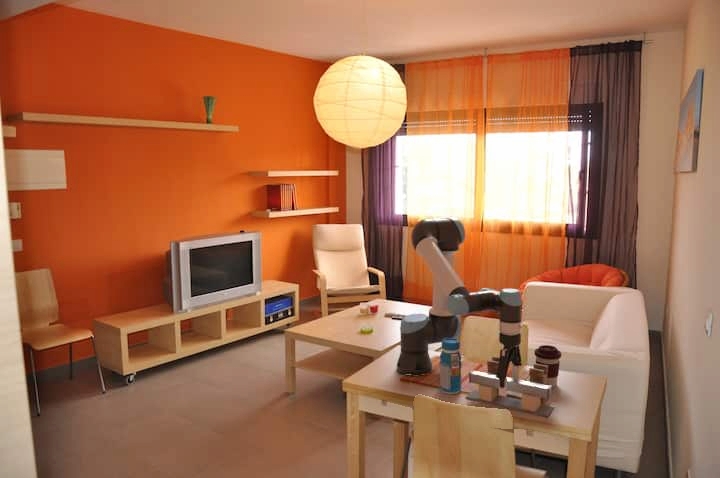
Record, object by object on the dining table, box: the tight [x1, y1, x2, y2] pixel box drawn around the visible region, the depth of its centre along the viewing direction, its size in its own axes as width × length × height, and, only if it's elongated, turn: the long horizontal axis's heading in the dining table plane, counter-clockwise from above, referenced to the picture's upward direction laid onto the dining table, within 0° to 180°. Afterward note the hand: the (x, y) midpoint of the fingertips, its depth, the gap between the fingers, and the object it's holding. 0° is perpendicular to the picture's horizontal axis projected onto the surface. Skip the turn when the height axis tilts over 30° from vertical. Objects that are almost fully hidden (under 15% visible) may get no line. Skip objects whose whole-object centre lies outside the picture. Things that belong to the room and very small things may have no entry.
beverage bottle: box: [438, 338, 462, 395], centre depth 212 cm, size 8×8×20 cm
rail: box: [468, 369, 553, 400], centre depth 200 cm, size 29×4×4 cm, turn 57°
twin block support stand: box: [465, 384, 555, 418], centre depth 201 cm, size 30×8×6 cm, turn 57°
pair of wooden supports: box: [486, 355, 548, 405], centre depth 208 cm, size 22×6×12 cm, turn 57°
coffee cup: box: [534, 344, 562, 388], centre depth 217 cm, size 10×10×15 cm
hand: (509, 389), depth 200 cm, fingers open, 13 cm apart
